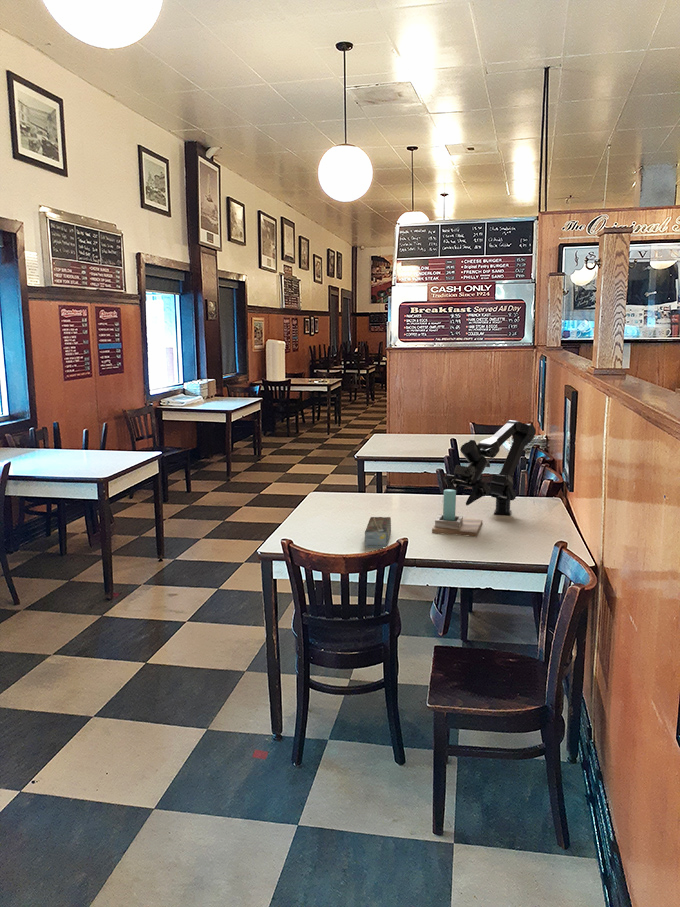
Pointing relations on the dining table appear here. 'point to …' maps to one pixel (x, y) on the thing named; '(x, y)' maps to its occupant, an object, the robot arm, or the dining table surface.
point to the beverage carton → (378, 532)
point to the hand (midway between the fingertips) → (456, 502)
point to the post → (449, 505)
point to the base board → (457, 526)
